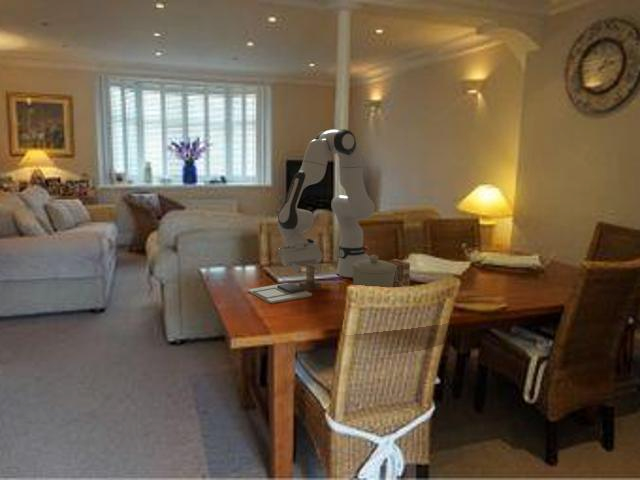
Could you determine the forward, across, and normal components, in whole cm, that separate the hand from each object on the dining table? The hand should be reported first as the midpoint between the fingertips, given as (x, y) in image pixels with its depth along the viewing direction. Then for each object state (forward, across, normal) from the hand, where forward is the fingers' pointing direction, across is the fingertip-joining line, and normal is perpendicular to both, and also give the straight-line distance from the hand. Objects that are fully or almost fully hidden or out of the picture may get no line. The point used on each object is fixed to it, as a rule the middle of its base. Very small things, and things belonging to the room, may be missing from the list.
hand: (308, 270), depth 235 cm
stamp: (+6, 0, +4) cm, 8 cm away
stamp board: (+7, -16, +4) cm, 18 cm away
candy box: (+28, +25, -17) cm, 41 cm away
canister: (+31, +6, -20) cm, 38 cm away
